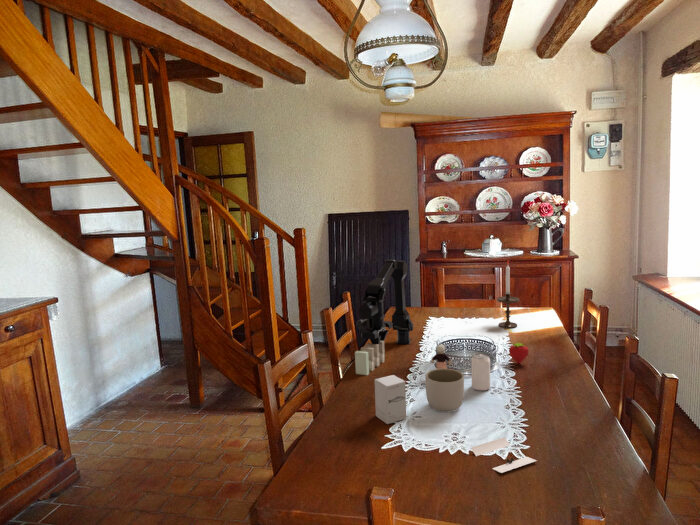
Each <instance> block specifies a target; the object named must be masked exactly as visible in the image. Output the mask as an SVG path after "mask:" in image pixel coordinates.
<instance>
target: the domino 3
mask: <svg viewBox="0 0 700 525" xmlns="http://www.w3.org/2000/svg"><path fill="white" fill-rule="evenodd" d="M370 344H372V343H370ZM385 358H386V357H385V340H384V341H380V342H379V359H380V364H383V363H385Z"/></svg>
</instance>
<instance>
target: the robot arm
mask: <svg viewBox="0 0 700 525" xmlns="http://www.w3.org/2000/svg"><path fill="white" fill-rule="evenodd" d="M408 269H409V264H408V263H407V262H406V261H405V260H395V259H386V260H384V263H383V266H382V267H381V270H380V271H379V272H378V274H377V276H376V278H374V279H373V280H371V281H370V282H369V283H368V284H367V285H366V287H365V291H364V295H363V298H362V302H363V303H362V304H363V305H361V306H360V307H359V310H358V314H359V316H360V318H362V319H359V320H357V321H356V328H358V329H359V330H363V329H365V328H366V329H365V330H363V331H362V332H360V333H361V334H360V336H361V338H362V339H365V340H366V339H369V341H370V342H371V343H372V344H379V342H380V341H384V342H385V340H386V337H387V336H388V334H389V332H390V329H392V330H393V331H396V333H397V334H396V335H397V337H396V338H397V339H396V341H395V344H398V345H410V343H411V342H412V339H410V332H412V331H414V323H413V322H412V320H411V318H410V317H411V315H410V313H409V312H408V310H407V309H406V294H405V293H406V291H405V278H406V276H407V274H408ZM390 278H391V279H392V280H393V293H394V306H395V307H394V308H395V310H394V312H393V314H392V315H391V321H390V320H384V318H386V314H384V301H385V295H386V293H387V289H386V285H387V284H388V281H389V280H390ZM386 328H387V329H386ZM371 343H370V344H371Z"/></svg>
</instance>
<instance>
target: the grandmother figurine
mask: <svg viewBox="0 0 700 525" xmlns="http://www.w3.org/2000/svg"><path fill="white" fill-rule="evenodd" d="M445 351H446V346H445V345H444V344H438V346H437V347H436V352H437V354H435V355H433V356H432V358H431V360H430V363H431V364H434V362H435V361H436V369H448V367H447V363H448V365H449V366H451V365H452V360H451V359H450V358H449V356H448V355H447V354H444V353H445Z"/></svg>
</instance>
